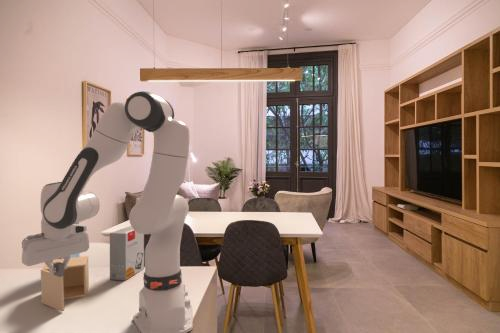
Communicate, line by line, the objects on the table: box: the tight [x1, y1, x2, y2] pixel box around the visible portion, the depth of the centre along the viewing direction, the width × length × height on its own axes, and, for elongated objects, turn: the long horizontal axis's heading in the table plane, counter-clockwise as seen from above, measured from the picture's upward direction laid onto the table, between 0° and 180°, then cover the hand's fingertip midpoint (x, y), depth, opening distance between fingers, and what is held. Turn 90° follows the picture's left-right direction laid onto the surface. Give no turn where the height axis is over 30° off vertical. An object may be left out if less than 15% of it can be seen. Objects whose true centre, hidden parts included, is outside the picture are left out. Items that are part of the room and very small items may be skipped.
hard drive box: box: [109, 225, 145, 281], centre depth 143 cm, size 16×8×20 cm, turn 168°
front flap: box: [40, 262, 65, 312], centre depth 111 cm, size 2×13×16 cm, turn 59°
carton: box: [42, 255, 90, 300], centre depth 123 cm, size 11×14×12 cm
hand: (58, 271), depth 108 cm, fingers closed
